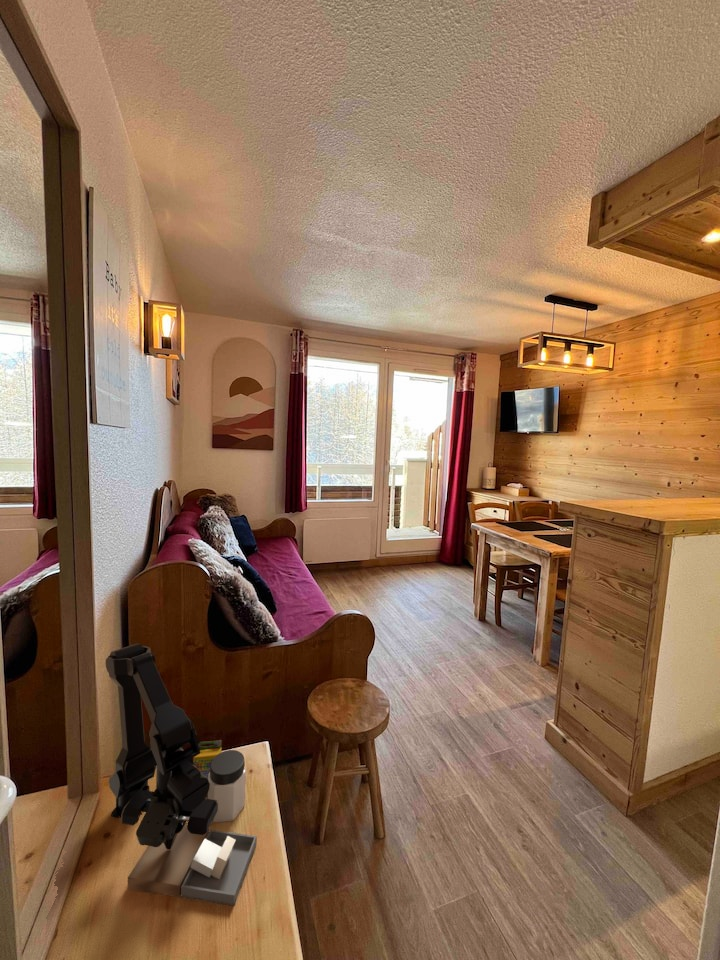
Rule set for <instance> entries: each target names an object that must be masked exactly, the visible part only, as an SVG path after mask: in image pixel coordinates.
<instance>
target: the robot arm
mask: <svg viewBox="0 0 720 960" xmlns="http://www.w3.org/2000/svg"><path fill="white" fill-rule="evenodd" d="M105 669H106V672H107V673H108V675H109V678H110V679H111V680H112V681H113V682H114V684H116V685H117V689H118V690H117V693H118V703H119V704H118V705H119V716H120V732H121V733H120V734H121V743H122V745H121V746H122V748H121V749H120V751H119V754H118V755H117V758H116V760H115V772H114V773H112V775H111V776H110V777H109V778H108V783H109V784H108V785H109V789H110V790H111V792H112V793H113V795H114V797H115V808H114V809H113V810H112V811H111V812H110V816H111V817H117V818H121V819H120V820H121V821H120V822H121V824H123V825H131V826H134V825H136V824H137V823H138V822H139V820H140V815H141V813H144V816H143V817H142V819H141V821H140V823H139V825H138V827H137V829H136V832H135V836H136V838H137V841H138V843H139V845H140V846H147V847H148V846H153V847H159V846H160V845H161V844H162V843H164V845H165V847H166V849H169V850H170V849H171V848H172V846H173V844H174V841H175V839H176V836H177V834H178V833H180V832H181V830H182V829H183V827H184V825H187V830H188V831H189V832H190V833H192V834H199V835H204V834H205V833H207V831H208V829H209V830H210V827H211V825H212V823H213V819H214V817H215V815H216V813H217V811H218V802H217V800H212V799H208V798H206V797H208V791H209V787H210V783H209V781H208V779H207V778H206V777H205V776H204V775H203V774H202V773H201V772H200V771H199V770H198V768H197V767H196V766H195V765H194V763H193V757H195V756H197V755H198V754H200V749H199V745H198V744H199V743H200V742H201V741H200V739H199V736H198V734H197V733H198V732H197V731H196V728H195V726H194V725H195V724H194V723H193V722H192V719H190V718H189V717H188V716H187V714H186V712H185V710H184V709H183V708H181V707H179V706H177V705H175V704H174V703H173V701H172V699H171V695H169V692H168V690H167V688H166V686H165V684H164V681H163V679H162V677H161V674H160V672H159V670H158V667H157V666H156V658H155V655H154V653H153V652H151V647H150V646H145V645H143V646H142V644H141V643H134V644H132V645H131V644H130V645H128V646H125V647H122V648H119V649H114V650H112V651H111V652H110V653H109V655H107V657H106V659H105ZM142 702H143V703H144V707H145V710H146V711H147V714H148V716H149V719H150V723H151V725H150V729H149V732H148V734H149V735H148V736H149V740H150V741H149V744H150V745H148V743H147V742H146V739H145V729H144V728H145V727H144V714H143V703H142ZM188 744H189V745H190V746H188V747H187V748H185V749H183V747H185V746H186V745H188ZM155 773H156V775H155ZM155 776H156V779H155V780H156V784H155V789H154V790H152V791H151V790H150V785H149V780H151V779H153V778H154V777H155Z"/></svg>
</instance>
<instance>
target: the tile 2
mask: <svg viewBox="0 0 720 960" xmlns="http://www.w3.org/2000/svg"><path fill="white" fill-rule="evenodd" d="M235 841H236V840H235V839H233V838H231V837H229V836H227V838H226V840H225V842H224V844H223V846H222V848H221V850H220V852H219V854H218V856H217V859H216V862H215V865H214V868H213V870H212V873H211V875H212V876H214V877H216V878H218V879H220V877H221V875H222V873H223V871H224V868H225V866H226V864H227V862H228V860H229V858H230V855H231V852H232V849H233V847H234V844H235Z"/></svg>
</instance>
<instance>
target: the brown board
mask: <svg viewBox="0 0 720 960" xmlns="http://www.w3.org/2000/svg"><path fill="white" fill-rule="evenodd" d="M209 831H210V828H209V829H208V831H207V833H205V834H204V835H199V834H192V833H190V832H189V831H188V830H187V824H185V825H184V827H183V829H182V830H181V832H180V833H178V834H177V836H176V839H175V841H174V844H173V846H172V848H171V849H170V850H169V849H166V847H165V845H164V843H162V844H161V845H160V846H159V847H153V846H147V847H146V849H145V850H144V851H143V853H142V854H141V856H140V858H139V860H138V861H137V862H136V864H135V865H134V867H133V869H132V870H131V871H130V873H129V875H127V890H132V891H133V890H134V891H138V892H146V893H151V894H158V895H163V896H171V897H177V898H181V886H182V884H183V882H184V880H185V878H186V876H187V874H188V872H189V870H190V869H191V868H190V867H191V864H192V861H193V859H194V857H195V855H196V853H197V852H198V850H199V848H200V846H201V844H202V843H203V841H204V839H206V837H207V835H208V833H209Z"/></svg>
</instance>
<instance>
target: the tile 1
mask: <svg viewBox="0 0 720 960" xmlns="http://www.w3.org/2000/svg"><path fill="white" fill-rule="evenodd" d="M221 848H222V847H220V846H218V845H216V844H214V843H213V842H211V841H209V840H207V839H204V841H203V843H202V844H201V846H200V848H199V850H198V852H197V853H196V855H195V857H194V859H193V861H192V864H191V867H190V868H192V869H194V870H196V871H198V872H200V873H202V874H204V875H206V876H207V877H209V878H210V876H211V873H212V870H213V868H214V865H215V862H216V859H217V856H218V854H219V852H220V850H221Z"/></svg>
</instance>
